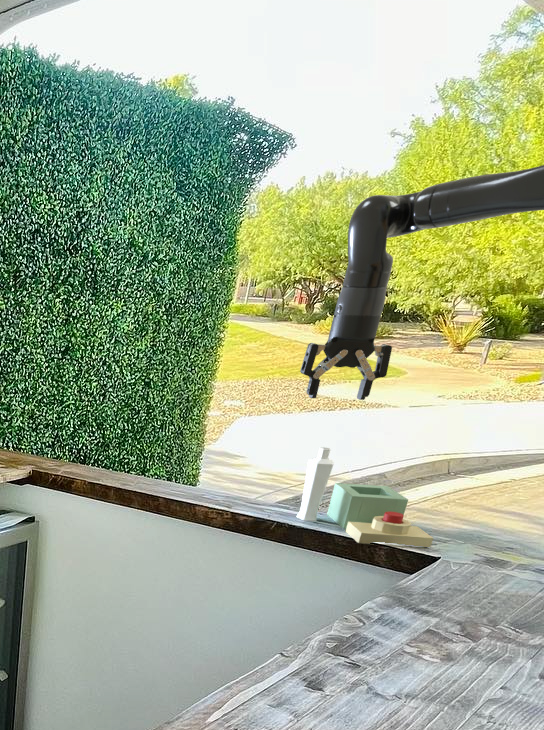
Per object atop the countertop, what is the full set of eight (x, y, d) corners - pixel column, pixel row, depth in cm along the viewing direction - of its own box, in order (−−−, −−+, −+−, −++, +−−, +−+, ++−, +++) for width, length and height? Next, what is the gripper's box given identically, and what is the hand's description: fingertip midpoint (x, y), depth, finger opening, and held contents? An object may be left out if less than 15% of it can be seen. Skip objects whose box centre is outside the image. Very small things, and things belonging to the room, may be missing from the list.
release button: (397, 520, 148) (400, 512, 147) (403, 525, 145) (406, 516, 145) (379, 519, 149) (382, 510, 148) (386, 524, 146) (388, 515, 145)
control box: (413, 536, 150) (419, 517, 149) (430, 549, 144) (436, 529, 142) (345, 531, 153) (350, 512, 151) (358, 543, 147) (363, 523, 145)
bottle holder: (378, 518, 161) (388, 486, 158) (398, 533, 152) (408, 499, 149) (326, 514, 163) (335, 482, 160) (343, 529, 154) (352, 496, 152)
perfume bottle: (294, 513, 164) (312, 444, 158) (318, 517, 162) (336, 447, 156) (294, 519, 160) (311, 449, 154) (318, 523, 158) (337, 451, 152)
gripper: (392, 311, 147) (369, 396, 153) (309, 310, 150) (290, 394, 156) (409, 314, 140) (384, 403, 146) (322, 313, 143) (301, 400, 150)
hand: (336, 398), depth 151 cm, fingers open, 8 cm apart
